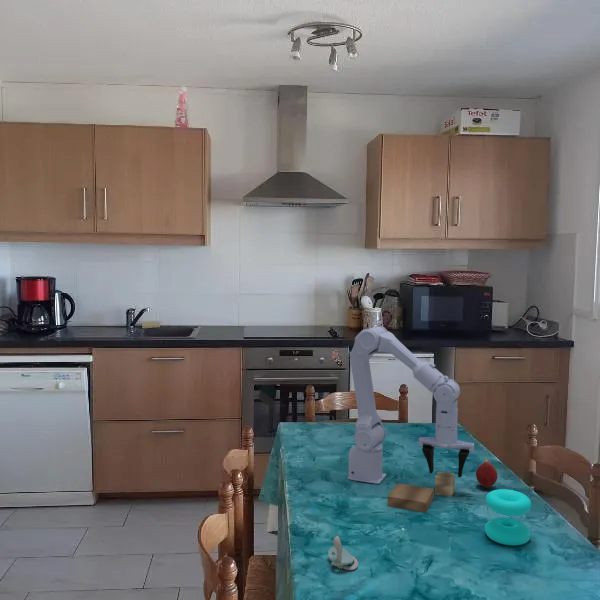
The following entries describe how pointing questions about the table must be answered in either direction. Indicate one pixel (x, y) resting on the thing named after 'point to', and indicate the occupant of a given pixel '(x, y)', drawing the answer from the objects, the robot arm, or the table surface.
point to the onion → (486, 474)
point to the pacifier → (341, 556)
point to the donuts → (504, 527)
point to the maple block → (444, 483)
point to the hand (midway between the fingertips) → (445, 474)
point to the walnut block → (411, 497)
